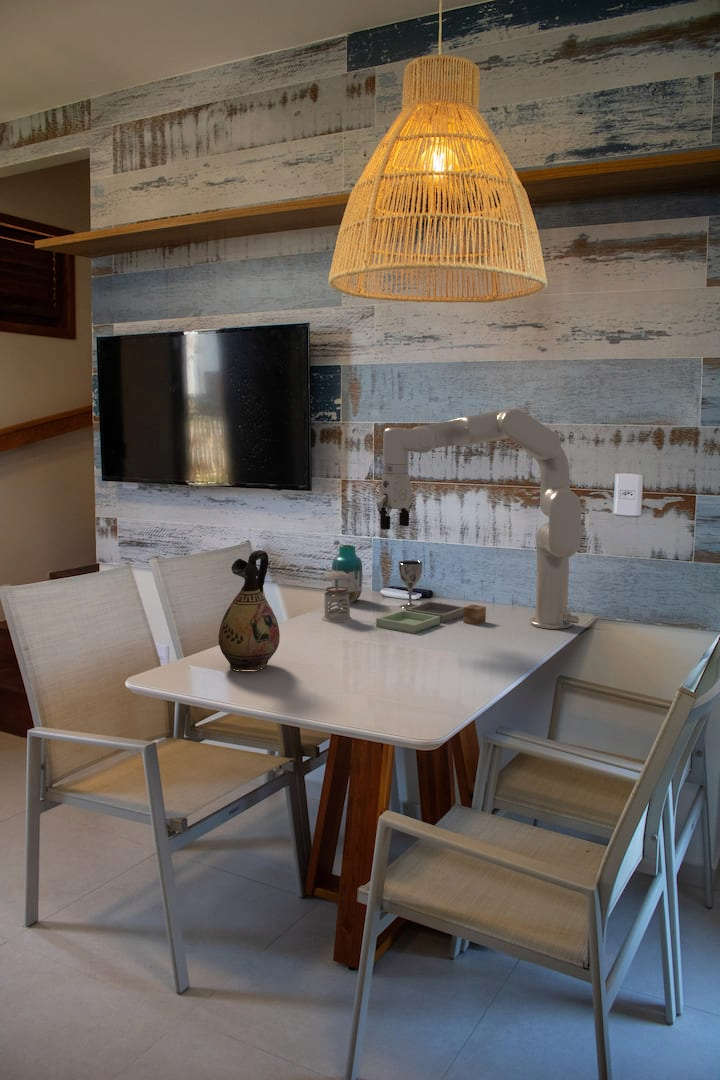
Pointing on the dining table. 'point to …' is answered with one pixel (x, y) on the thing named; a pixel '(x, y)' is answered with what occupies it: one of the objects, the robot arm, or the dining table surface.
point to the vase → (348, 570)
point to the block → (474, 614)
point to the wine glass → (410, 577)
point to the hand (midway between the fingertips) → (394, 527)
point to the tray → (408, 621)
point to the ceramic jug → (249, 619)
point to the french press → (337, 598)
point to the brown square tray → (439, 610)
